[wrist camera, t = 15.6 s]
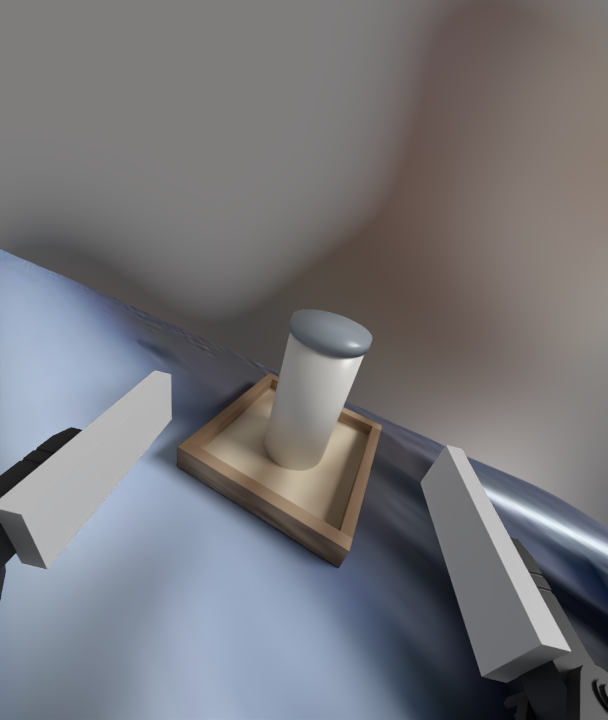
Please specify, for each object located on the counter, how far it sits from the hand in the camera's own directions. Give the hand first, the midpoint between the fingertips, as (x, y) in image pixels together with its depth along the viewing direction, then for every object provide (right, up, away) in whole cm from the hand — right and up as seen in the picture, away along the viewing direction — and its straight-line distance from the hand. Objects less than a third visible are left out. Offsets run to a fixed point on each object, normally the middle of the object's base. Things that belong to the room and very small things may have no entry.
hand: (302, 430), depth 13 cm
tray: (-1, -7, +16) cm, 18 cm away
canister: (-1, -6, +16) cm, 17 cm away
